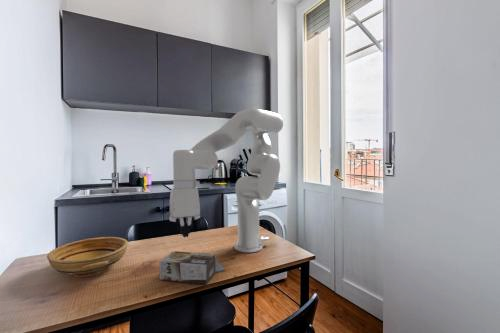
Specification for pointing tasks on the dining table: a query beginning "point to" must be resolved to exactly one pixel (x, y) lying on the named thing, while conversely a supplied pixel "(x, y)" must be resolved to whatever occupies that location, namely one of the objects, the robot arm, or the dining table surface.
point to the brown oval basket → (87, 255)
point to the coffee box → (187, 267)
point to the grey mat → (218, 266)
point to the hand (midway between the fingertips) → (185, 235)
